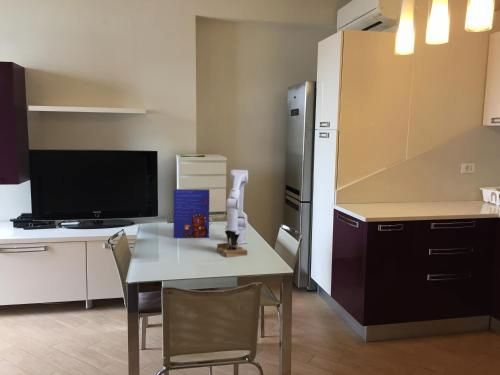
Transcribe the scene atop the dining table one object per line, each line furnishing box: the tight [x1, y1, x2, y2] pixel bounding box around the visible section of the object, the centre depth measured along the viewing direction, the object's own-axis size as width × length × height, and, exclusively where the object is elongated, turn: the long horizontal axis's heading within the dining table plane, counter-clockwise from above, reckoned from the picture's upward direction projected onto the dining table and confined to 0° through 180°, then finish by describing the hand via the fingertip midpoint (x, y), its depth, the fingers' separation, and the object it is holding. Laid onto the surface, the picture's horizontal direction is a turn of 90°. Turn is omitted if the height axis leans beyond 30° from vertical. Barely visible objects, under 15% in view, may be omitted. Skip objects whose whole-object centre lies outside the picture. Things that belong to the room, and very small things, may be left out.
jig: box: [216, 242, 248, 258], centre depth 241 cm, size 14×12×4 cm
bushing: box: [229, 237, 236, 250], centre depth 241 cm, size 4×4×6 cm
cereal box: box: [173, 188, 210, 239], centre depth 273 cm, size 22×6×30 cm, turn 96°
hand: (232, 244), depth 241 cm, fingers closed on bushing, 4 cm apart
